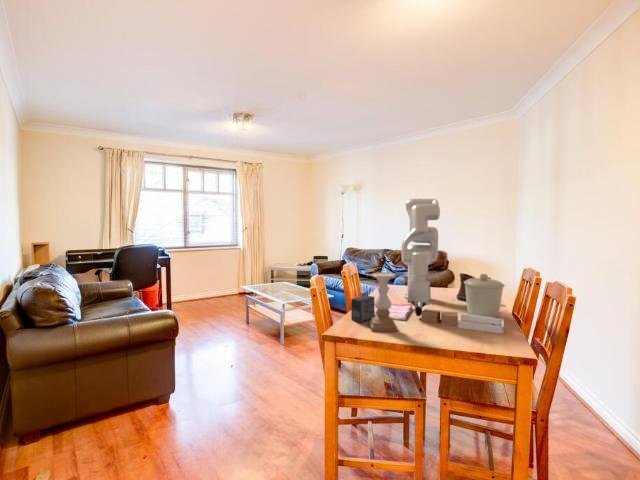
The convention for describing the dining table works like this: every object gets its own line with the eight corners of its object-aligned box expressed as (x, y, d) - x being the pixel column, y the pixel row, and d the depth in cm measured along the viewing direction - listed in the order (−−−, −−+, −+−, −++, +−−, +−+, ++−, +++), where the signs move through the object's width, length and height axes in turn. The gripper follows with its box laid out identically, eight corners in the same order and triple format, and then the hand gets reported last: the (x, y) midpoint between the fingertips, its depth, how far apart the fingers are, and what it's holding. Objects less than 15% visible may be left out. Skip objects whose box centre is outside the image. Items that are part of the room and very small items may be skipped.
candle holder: (368, 323, 161) (369, 271, 159) (392, 323, 161) (393, 272, 159) (371, 331, 150) (372, 276, 148) (397, 332, 150) (398, 276, 148)
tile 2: (441, 319, 168) (441, 310, 167) (456, 321, 165) (457, 311, 165) (441, 324, 161) (441, 314, 161) (457, 325, 159) (458, 316, 158)
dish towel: (413, 309, 186) (413, 303, 186) (405, 322, 165) (405, 314, 165) (381, 306, 193) (381, 299, 193) (370, 317, 172) (370, 310, 172)
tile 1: (425, 317, 171) (425, 308, 171) (440, 319, 167) (440, 310, 167) (421, 321, 165) (421, 312, 165) (436, 323, 162) (436, 314, 161)
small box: (364, 315, 174) (364, 294, 173) (375, 318, 169) (375, 296, 169) (350, 319, 167) (350, 298, 166) (361, 323, 162) (361, 300, 161)
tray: (460, 319, 167) (461, 313, 167) (503, 325, 159) (503, 318, 159) (458, 327, 156) (458, 321, 155) (503, 334, 148) (504, 327, 147)
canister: (507, 316, 173) (509, 273, 171) (496, 324, 160) (498, 278, 158) (469, 309, 185) (471, 269, 183) (456, 316, 172) (458, 274, 170)
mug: (491, 300, 203) (492, 274, 202) (488, 304, 194) (489, 278, 193) (458, 296, 213) (459, 271, 212) (454, 300, 204) (454, 274, 203)
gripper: (437, 277, 168) (435, 315, 169) (405, 275, 174) (404, 311, 176) (434, 280, 161) (433, 319, 162) (401, 277, 168) (401, 315, 169)
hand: (418, 315), depth 169 cm, fingers closed
